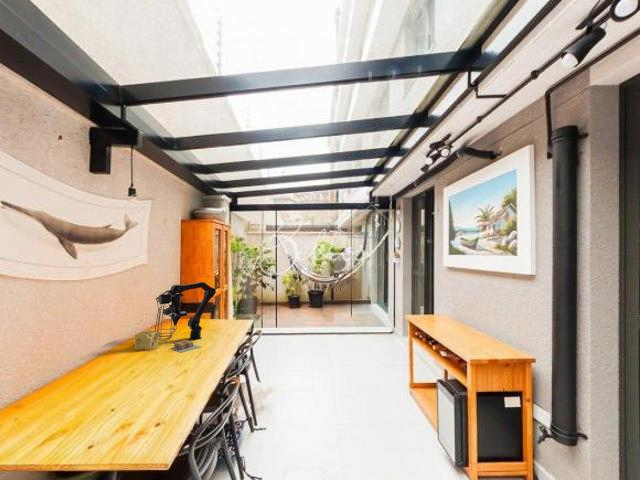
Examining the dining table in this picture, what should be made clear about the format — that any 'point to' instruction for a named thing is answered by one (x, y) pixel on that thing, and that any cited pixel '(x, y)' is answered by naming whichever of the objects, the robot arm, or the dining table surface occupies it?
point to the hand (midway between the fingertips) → (175, 325)
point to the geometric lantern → (162, 319)
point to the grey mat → (186, 349)
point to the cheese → (146, 340)
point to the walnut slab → (183, 344)
